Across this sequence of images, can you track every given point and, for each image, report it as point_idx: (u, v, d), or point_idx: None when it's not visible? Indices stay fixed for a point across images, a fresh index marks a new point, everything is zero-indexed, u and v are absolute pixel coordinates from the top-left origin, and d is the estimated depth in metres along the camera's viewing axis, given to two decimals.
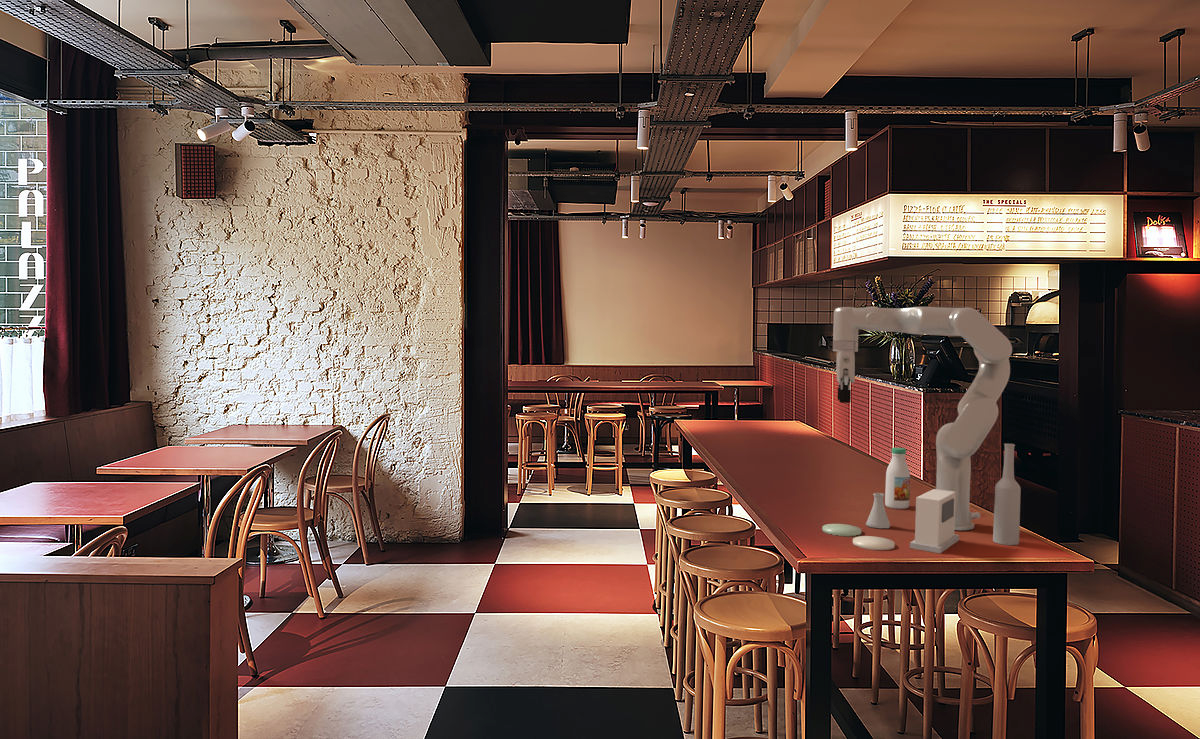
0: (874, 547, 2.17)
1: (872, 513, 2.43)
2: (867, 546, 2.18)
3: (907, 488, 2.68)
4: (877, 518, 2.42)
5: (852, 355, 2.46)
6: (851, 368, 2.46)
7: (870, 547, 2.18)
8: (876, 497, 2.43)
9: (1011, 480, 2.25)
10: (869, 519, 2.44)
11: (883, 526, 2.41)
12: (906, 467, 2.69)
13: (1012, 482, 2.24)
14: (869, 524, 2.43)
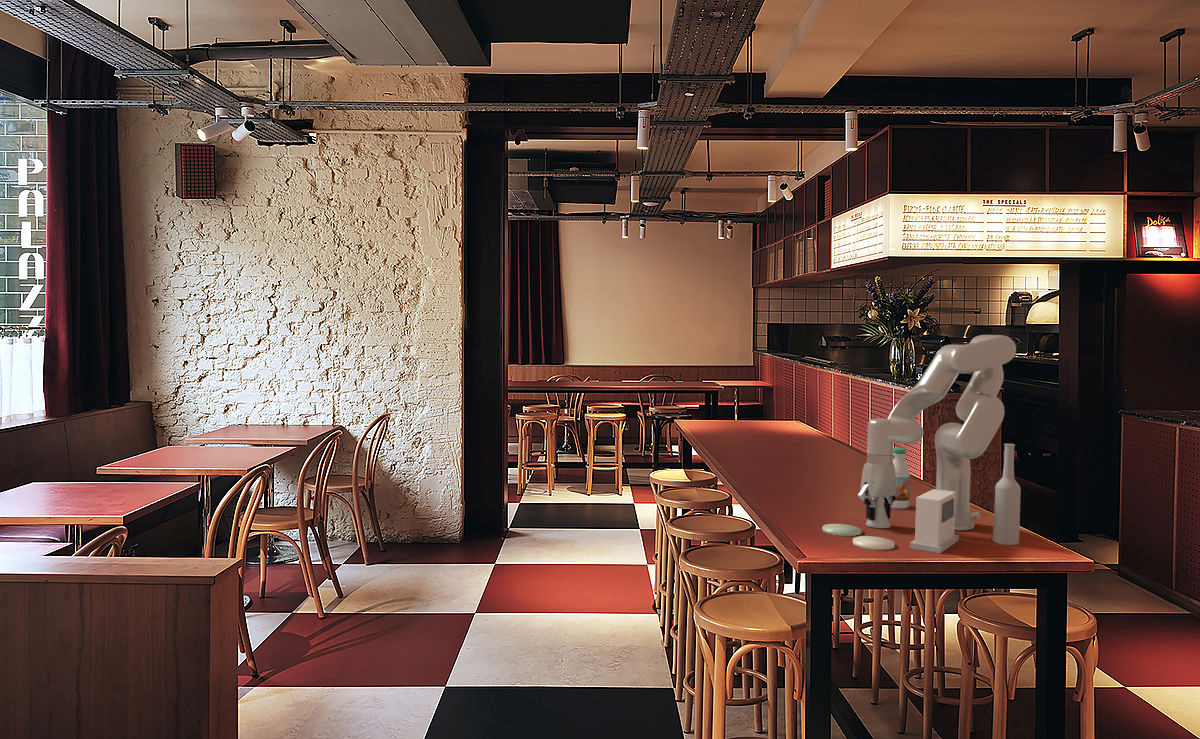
0: (874, 547, 2.17)
1: None
2: (867, 546, 2.18)
3: (907, 488, 2.68)
4: (877, 518, 2.42)
5: None
6: None
7: (870, 547, 2.18)
8: None
9: (1011, 480, 2.25)
10: (869, 519, 2.44)
11: (883, 526, 2.41)
12: (906, 467, 2.69)
13: (1012, 482, 2.24)
14: (869, 524, 2.43)
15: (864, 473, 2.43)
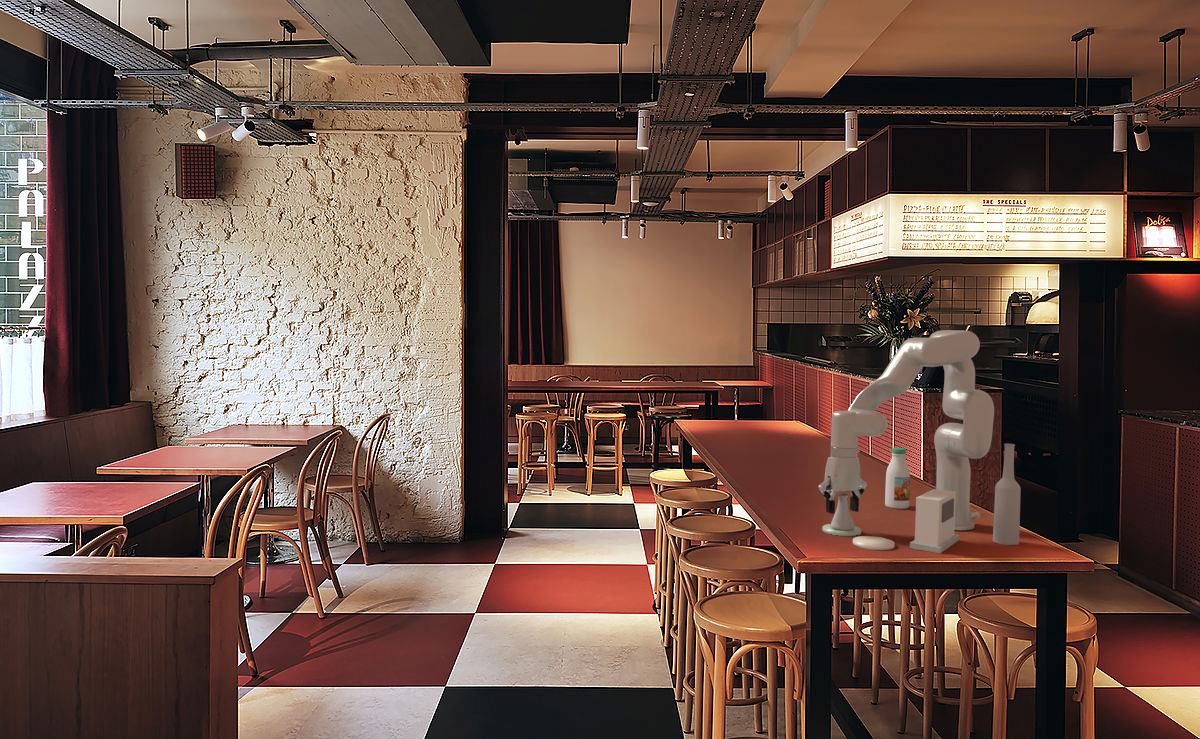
0: (874, 547, 2.17)
1: (836, 514, 2.36)
2: (867, 546, 2.18)
3: (907, 488, 2.68)
4: (841, 520, 2.35)
5: None
6: None
7: (870, 547, 2.18)
8: (840, 498, 2.36)
9: (1011, 480, 2.25)
10: (833, 521, 2.36)
11: (847, 528, 2.34)
12: (906, 467, 2.69)
13: (1012, 482, 2.24)
14: (833, 526, 2.36)
15: (827, 467, 2.35)
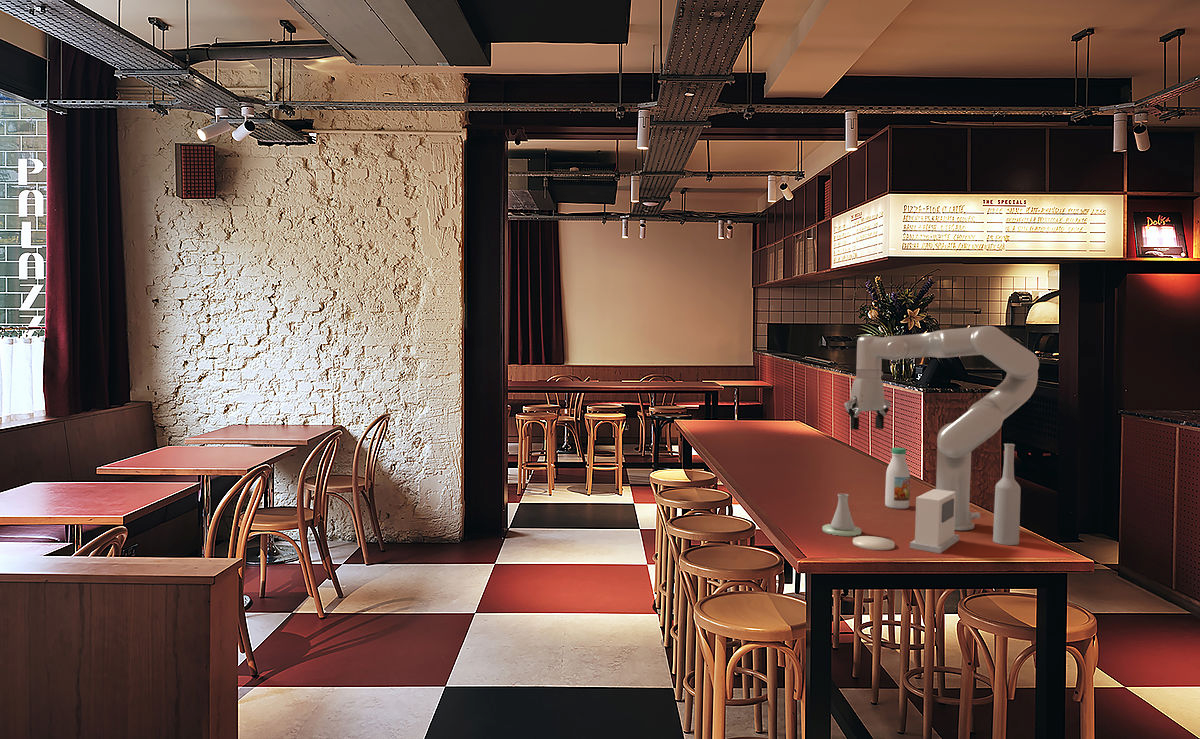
0: (874, 547, 2.17)
1: (836, 514, 2.36)
2: (867, 546, 2.18)
3: (907, 488, 2.68)
4: (841, 520, 2.35)
5: None
6: None
7: (870, 547, 2.18)
8: (840, 498, 2.36)
9: (1011, 480, 2.25)
10: (833, 521, 2.36)
11: (847, 528, 2.34)
12: (906, 467, 2.69)
13: (1012, 482, 2.24)
14: (833, 526, 2.36)
15: (853, 388, 2.53)
